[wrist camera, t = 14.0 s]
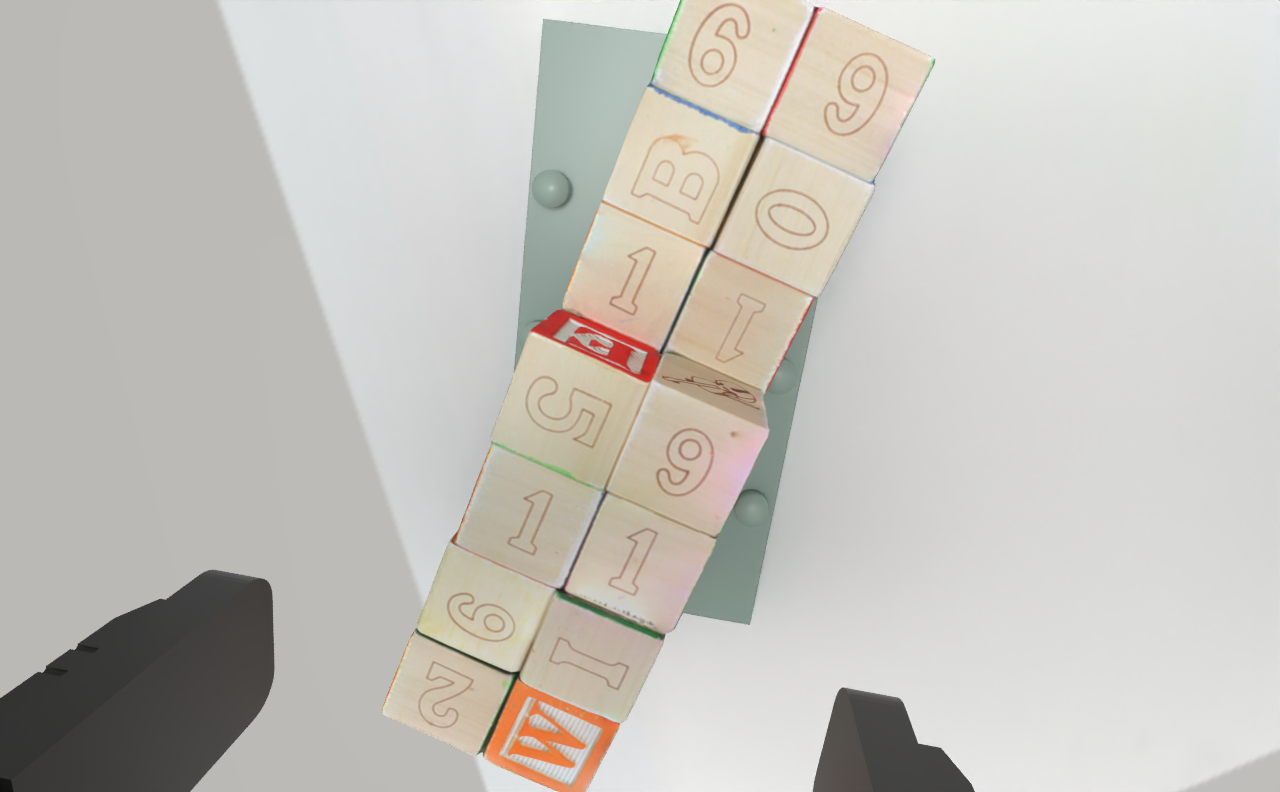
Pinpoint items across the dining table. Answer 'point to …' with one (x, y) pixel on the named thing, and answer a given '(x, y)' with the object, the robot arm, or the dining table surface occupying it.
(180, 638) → the robot arm
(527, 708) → the stack of blocks
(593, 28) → the baseplate
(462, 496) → the dining table surface
